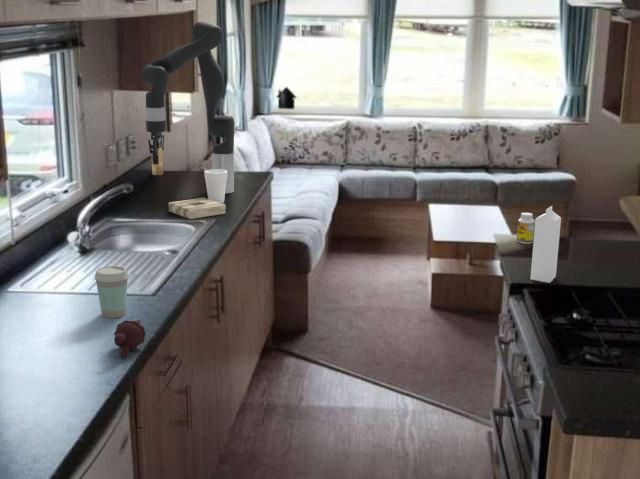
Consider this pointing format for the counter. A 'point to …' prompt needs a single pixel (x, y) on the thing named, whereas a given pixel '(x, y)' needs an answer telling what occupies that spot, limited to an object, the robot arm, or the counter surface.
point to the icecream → (129, 336)
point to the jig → (197, 208)
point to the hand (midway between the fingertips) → (157, 163)
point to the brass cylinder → (158, 168)
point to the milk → (545, 246)
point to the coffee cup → (112, 290)
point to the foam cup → (216, 184)
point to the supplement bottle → (525, 228)
